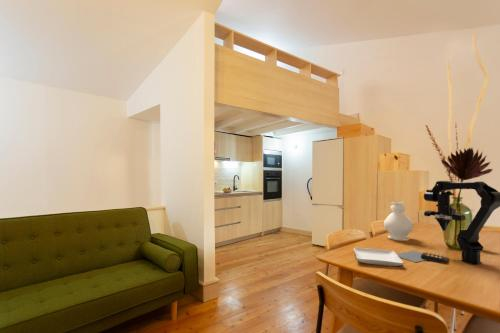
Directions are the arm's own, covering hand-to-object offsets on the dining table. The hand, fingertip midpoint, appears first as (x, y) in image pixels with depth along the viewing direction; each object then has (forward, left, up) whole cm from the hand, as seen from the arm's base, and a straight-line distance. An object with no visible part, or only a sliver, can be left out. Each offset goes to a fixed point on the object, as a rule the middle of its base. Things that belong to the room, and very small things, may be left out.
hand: (444, 230), depth 150 cm
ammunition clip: (-5, +19, -12) cm, 23 cm away
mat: (+4, +20, -13) cm, 24 cm away
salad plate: (+10, +43, -14) cm, 46 cm away
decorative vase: (+34, -9, -13) cm, 38 cm away
